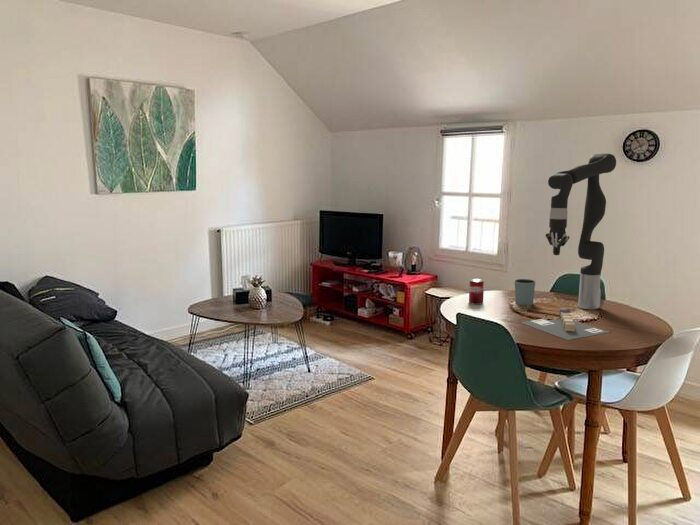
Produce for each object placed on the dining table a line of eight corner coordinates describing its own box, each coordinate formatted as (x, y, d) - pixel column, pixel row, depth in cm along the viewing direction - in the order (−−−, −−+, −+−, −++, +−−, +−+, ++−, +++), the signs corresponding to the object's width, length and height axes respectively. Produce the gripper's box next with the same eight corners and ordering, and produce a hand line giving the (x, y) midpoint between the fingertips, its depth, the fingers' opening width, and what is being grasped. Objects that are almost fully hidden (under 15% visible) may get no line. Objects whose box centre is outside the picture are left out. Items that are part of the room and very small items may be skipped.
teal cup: (537, 306, 271) (538, 282, 269) (516, 306, 271) (517, 283, 269) (530, 301, 281) (531, 278, 279) (511, 301, 281) (512, 278, 279)
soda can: (483, 305, 274) (484, 282, 272) (468, 304, 276) (469, 281, 274) (482, 301, 281) (483, 279, 279) (468, 301, 283) (469, 278, 281)
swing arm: (558, 316, 250) (559, 307, 250) (568, 316, 249) (569, 308, 249) (564, 330, 228) (565, 321, 228) (575, 331, 227) (576, 322, 227)
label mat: (560, 316, 253) (560, 315, 253) (610, 332, 228) (610, 331, 228) (519, 322, 243) (519, 322, 243) (567, 340, 218) (567, 339, 218)
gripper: (575, 218, 242) (573, 256, 245) (553, 216, 253) (551, 252, 257) (563, 219, 239) (561, 257, 242) (541, 216, 250) (539, 253, 254)
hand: (556, 254), depth 249 cm, fingers closed
